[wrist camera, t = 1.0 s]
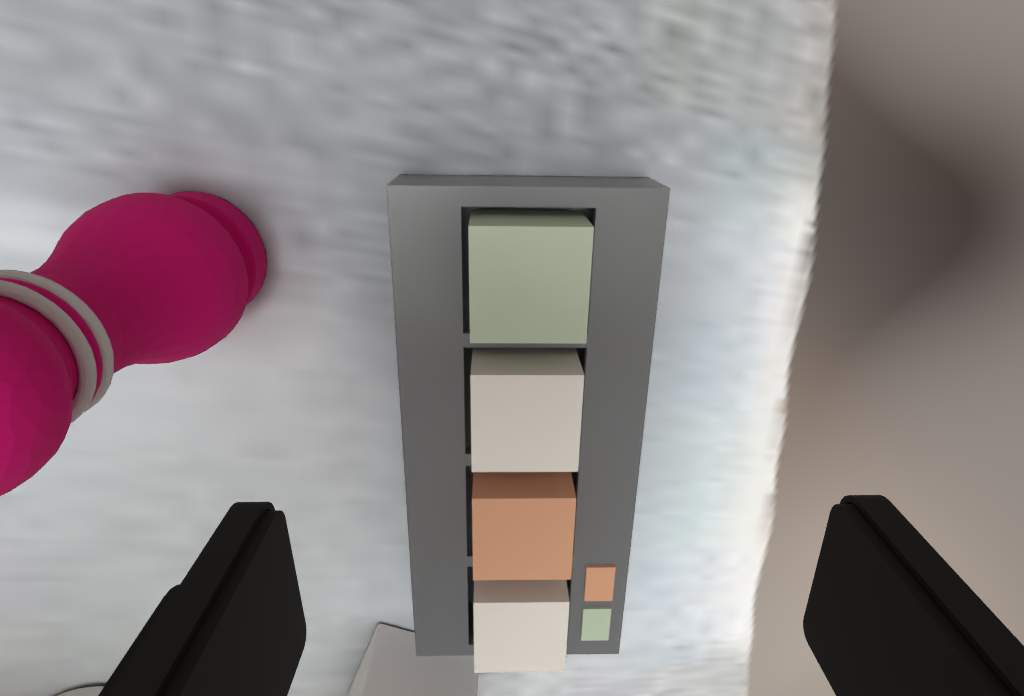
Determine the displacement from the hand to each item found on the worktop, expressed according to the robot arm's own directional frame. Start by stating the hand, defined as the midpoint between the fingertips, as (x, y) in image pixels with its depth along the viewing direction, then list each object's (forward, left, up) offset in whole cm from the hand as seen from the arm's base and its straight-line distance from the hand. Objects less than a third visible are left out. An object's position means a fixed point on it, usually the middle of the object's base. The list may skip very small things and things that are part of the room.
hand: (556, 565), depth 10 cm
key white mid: (-6, 0, -20) cm, 21 cm away
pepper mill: (0, +16, -22) cm, 27 cm away
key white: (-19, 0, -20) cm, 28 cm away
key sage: (0, 0, -20) cm, 20 cm away
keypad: (-10, 0, -22) cm, 24 cm away
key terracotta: (-13, 0, -20) cm, 23 cm away
